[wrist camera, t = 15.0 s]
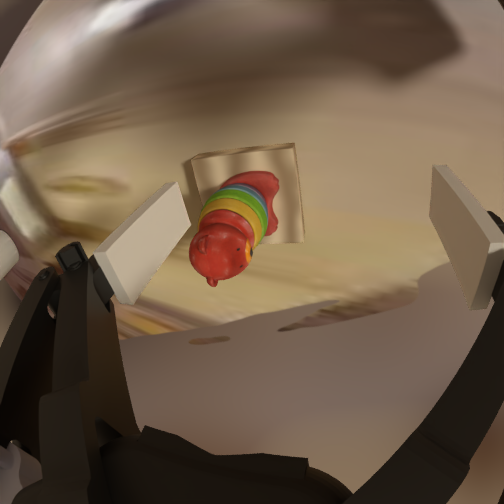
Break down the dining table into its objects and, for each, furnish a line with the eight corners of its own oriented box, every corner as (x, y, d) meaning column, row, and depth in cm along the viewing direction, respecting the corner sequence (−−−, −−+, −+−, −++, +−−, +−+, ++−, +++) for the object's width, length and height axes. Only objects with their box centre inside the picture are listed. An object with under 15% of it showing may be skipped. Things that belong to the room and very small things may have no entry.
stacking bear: (278, 234, 49) (256, 309, 35) (218, 229, 51) (176, 297, 37) (280, 171, 43) (256, 227, 29) (214, 168, 45) (161, 219, 31)
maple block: (294, 141, 44) (292, 148, 41) (305, 230, 53) (303, 242, 50) (199, 153, 49) (190, 160, 45) (219, 233, 57) (213, 245, 54)
